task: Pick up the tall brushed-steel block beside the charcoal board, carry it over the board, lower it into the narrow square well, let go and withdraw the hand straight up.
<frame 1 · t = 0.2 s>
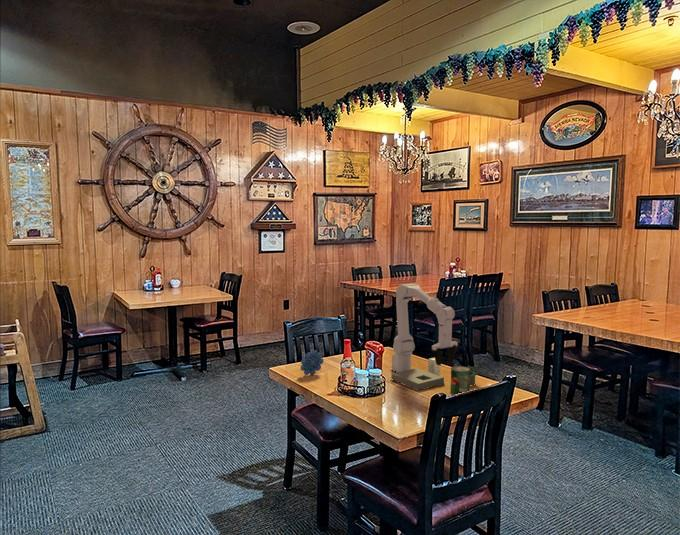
hand: (444, 363, 226), 10 cm above the table, tool pointing down, fingers open, 7 cm apart
canned tomato: (459, 393, 215), on the table
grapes: (311, 374, 243), on the table
well board: (417, 381, 231), on the table
bracket: (465, 383, 229), on the table
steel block: (434, 375, 241), on the table
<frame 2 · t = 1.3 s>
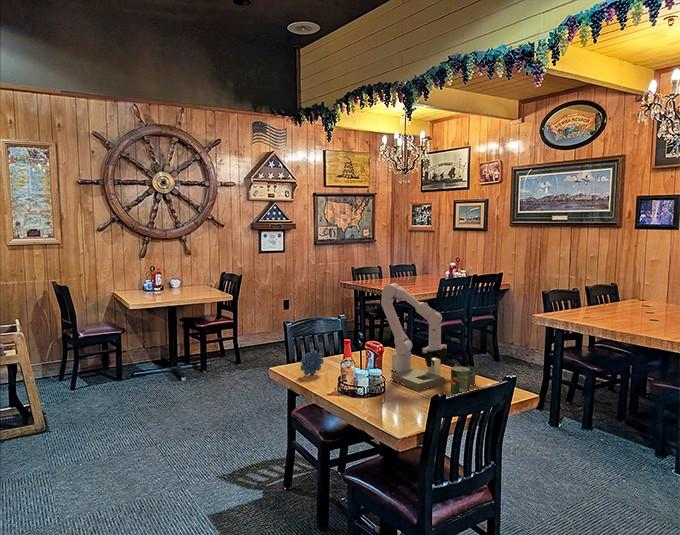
hand: (434, 365, 241), 5 cm above the table, tool pointing down, fingers open, 7 cm apart
nothing on the table moved.
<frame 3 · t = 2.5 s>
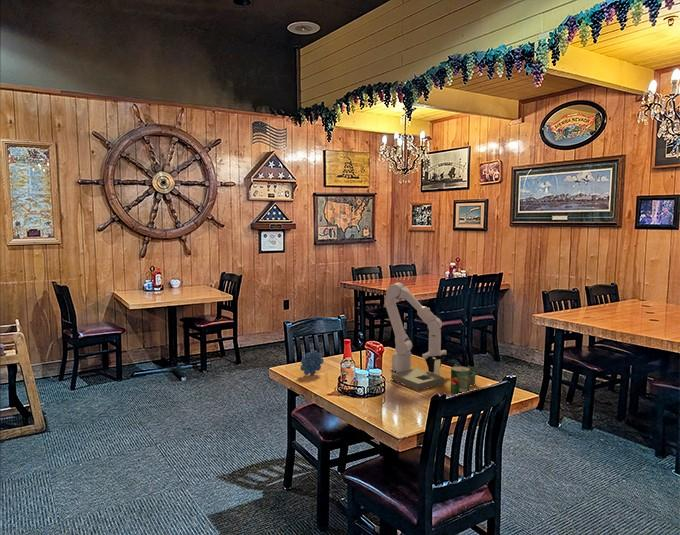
hand: (434, 371, 241), 2 cm above the table, tool pointing down, fingers closed on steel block, 4 cm apart
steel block: (434, 375, 241), on the table, touching gripper
everything else where it was.
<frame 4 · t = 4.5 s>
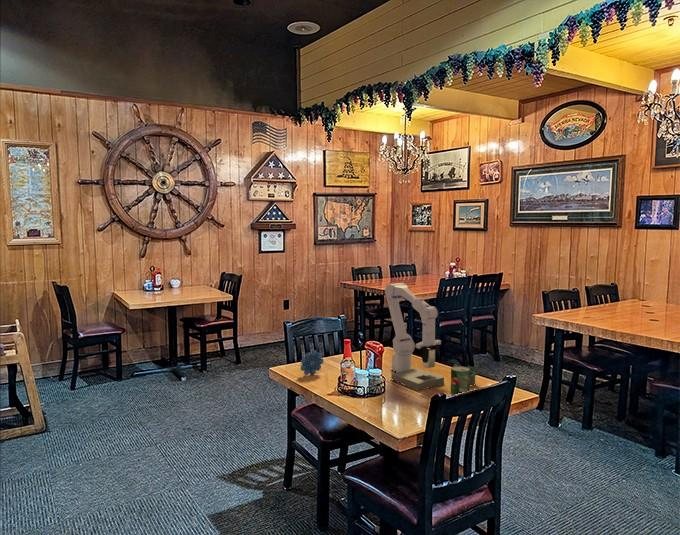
hand: (428, 361, 232), 9 cm above the table, tool pointing down, fingers closed on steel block, 4 cm apart
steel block: (428, 366, 232), point 7 cm above the table, touching gripper
everything else where it was.
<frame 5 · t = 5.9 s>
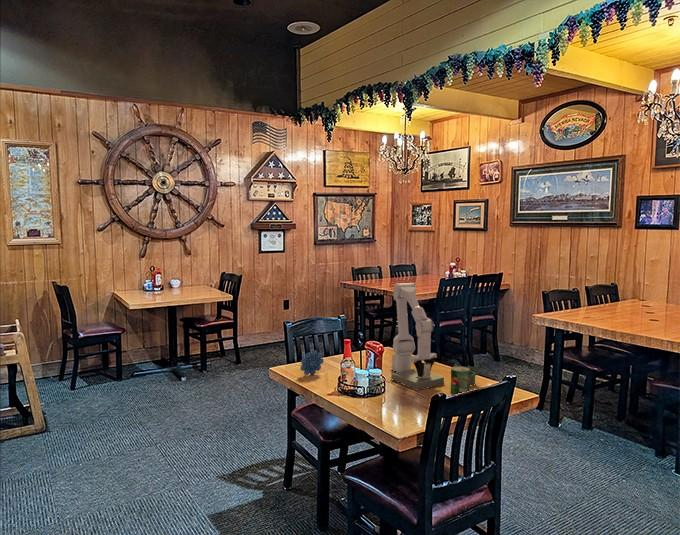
hand: (423, 375, 227), 4 cm above the table, tool pointing down, fingers closed on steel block, 4 cm apart
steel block: (423, 380, 227), point 2 cm above the table, touching gripper
everything else where it was.
when the fingers open (4 cm above the table, at t = 6.7 s): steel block drops 2 cm, resting in well board.
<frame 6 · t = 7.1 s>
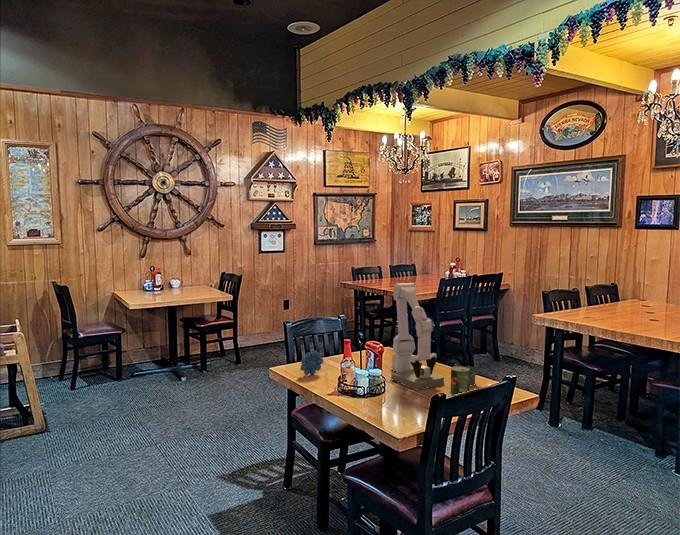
hand: (423, 375, 227), 4 cm above the table, tool pointing down, fingers open, 7 cm apart
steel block: (423, 384, 227), resting in well board
everything else where it was.
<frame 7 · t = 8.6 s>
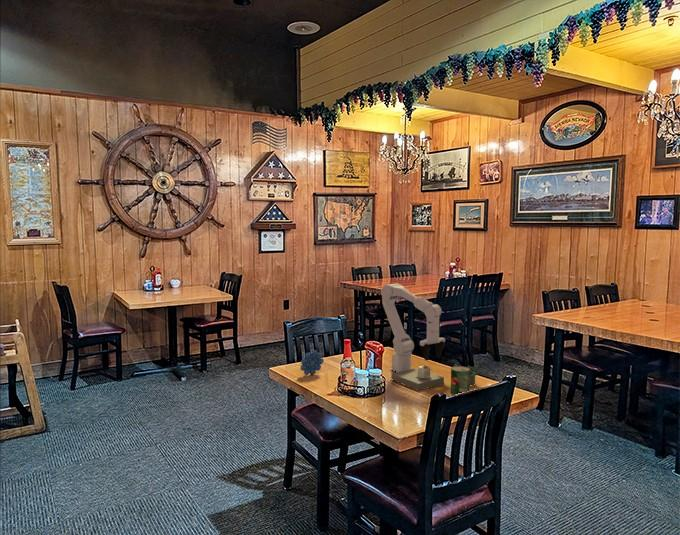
hand: (432, 358, 236), 9 cm above the table, tool pointing down, fingers open, 7 cm apart
nothing on the table moved.
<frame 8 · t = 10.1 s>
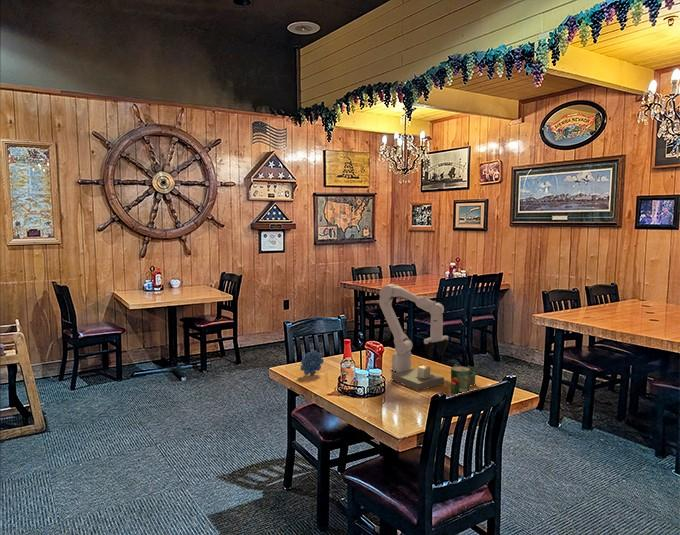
hand: (436, 356, 240), 9 cm above the table, tool pointing down, fingers open, 7 cm apart
nothing on the table moved.
at the end: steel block 0.1 cm from the target spot on the well board, point 0.0 cm above the well board's base; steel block tilted 0°; the gripper is holding nothing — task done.
